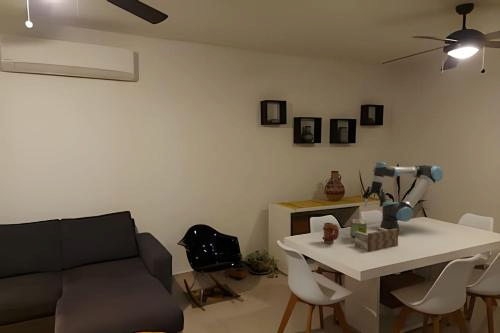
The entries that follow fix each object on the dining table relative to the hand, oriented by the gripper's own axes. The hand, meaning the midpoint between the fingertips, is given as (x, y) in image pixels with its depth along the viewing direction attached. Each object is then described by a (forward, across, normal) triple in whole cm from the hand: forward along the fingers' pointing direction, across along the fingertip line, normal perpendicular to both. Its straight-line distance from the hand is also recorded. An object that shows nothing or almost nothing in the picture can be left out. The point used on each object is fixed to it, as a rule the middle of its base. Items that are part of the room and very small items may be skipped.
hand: (371, 208), depth 269 cm
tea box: (+25, +5, -14) cm, 29 cm away
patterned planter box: (+24, +21, -15) cm, 35 cm away
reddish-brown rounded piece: (+30, +1, -38) cm, 48 cm away
